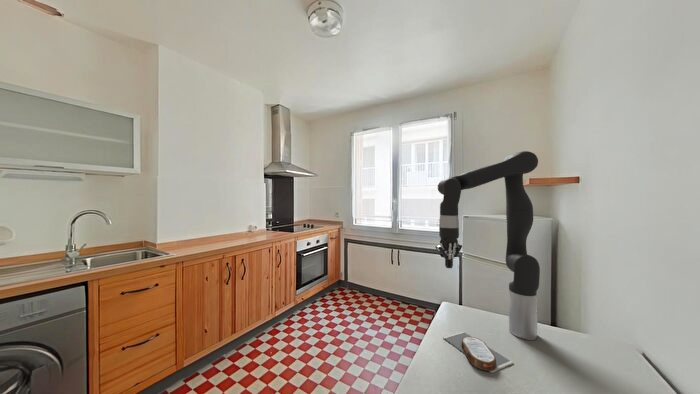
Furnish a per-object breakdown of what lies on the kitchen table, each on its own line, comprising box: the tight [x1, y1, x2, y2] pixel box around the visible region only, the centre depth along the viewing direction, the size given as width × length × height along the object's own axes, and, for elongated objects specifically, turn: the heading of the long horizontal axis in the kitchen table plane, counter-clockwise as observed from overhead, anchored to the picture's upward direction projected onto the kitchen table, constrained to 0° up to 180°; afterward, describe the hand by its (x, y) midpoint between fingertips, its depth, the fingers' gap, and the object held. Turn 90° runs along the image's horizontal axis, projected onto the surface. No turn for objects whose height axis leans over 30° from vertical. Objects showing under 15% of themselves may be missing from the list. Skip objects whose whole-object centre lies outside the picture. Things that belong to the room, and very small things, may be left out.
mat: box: [443, 331, 514, 374], centre depth 86 cm, size 11×20×1 cm, turn 23°
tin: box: [461, 336, 496, 372], centre depth 82 cm, size 15×3×8 cm
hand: (448, 267), depth 97 cm, fingers closed
